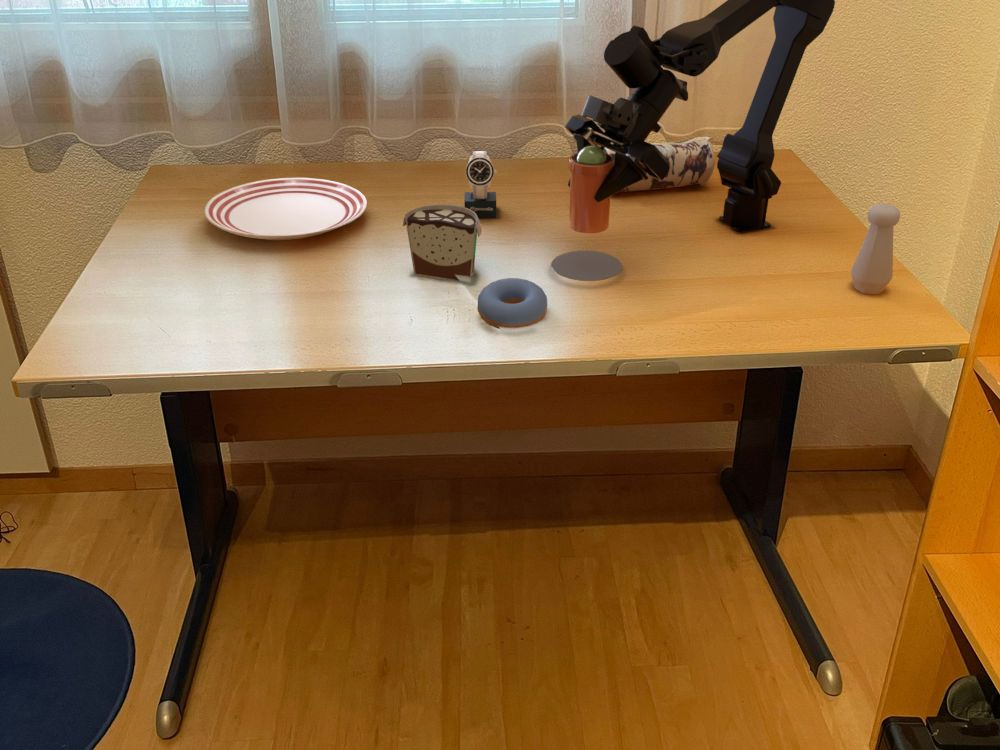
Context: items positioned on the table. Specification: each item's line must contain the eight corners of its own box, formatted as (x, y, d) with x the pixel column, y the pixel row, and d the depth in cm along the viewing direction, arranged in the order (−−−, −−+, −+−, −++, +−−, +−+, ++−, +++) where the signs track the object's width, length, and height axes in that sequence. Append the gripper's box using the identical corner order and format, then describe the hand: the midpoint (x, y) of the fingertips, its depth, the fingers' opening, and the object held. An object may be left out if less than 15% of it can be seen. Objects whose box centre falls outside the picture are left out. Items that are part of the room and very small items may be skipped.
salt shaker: (891, 298, 145) (909, 216, 138) (850, 295, 146) (867, 213, 139) (885, 281, 149) (903, 200, 143) (846, 278, 150) (862, 198, 144)
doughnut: (524, 341, 134) (524, 312, 132) (463, 323, 139) (462, 294, 136) (559, 312, 141) (560, 284, 139) (501, 296, 146) (500, 268, 144)
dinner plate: (327, 181, 187) (326, 164, 185) (395, 229, 168) (394, 210, 166) (185, 212, 174) (182, 194, 173) (241, 267, 155) (238, 248, 153)
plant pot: (598, 214, 152) (601, 136, 146) (618, 230, 147) (623, 149, 141) (560, 221, 150) (561, 142, 144) (579, 237, 145) (581, 156, 139)
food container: (493, 268, 154) (493, 208, 149) (480, 285, 149) (479, 223, 144) (421, 258, 157) (418, 199, 152) (405, 273, 153) (401, 213, 147)
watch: (464, 222, 170) (463, 161, 164) (465, 205, 177) (463, 145, 171) (497, 222, 170) (496, 160, 164) (496, 204, 177) (495, 145, 171)
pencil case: (602, 200, 178) (605, 148, 173) (589, 184, 185) (592, 133, 180) (716, 191, 182) (722, 140, 176) (699, 176, 189) (705, 126, 184)
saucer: (601, 252, 159) (601, 245, 158) (634, 280, 150) (635, 273, 150) (539, 263, 155) (539, 257, 155) (569, 293, 147) (569, 285, 146)
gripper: (576, 60, 146) (515, 146, 146) (660, 88, 132) (592, 183, 133) (615, 103, 153) (557, 185, 154) (698, 135, 140) (633, 224, 141)
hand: (582, 193), depth 145 cm, fingers closed on plant pot, 6 cm apart
